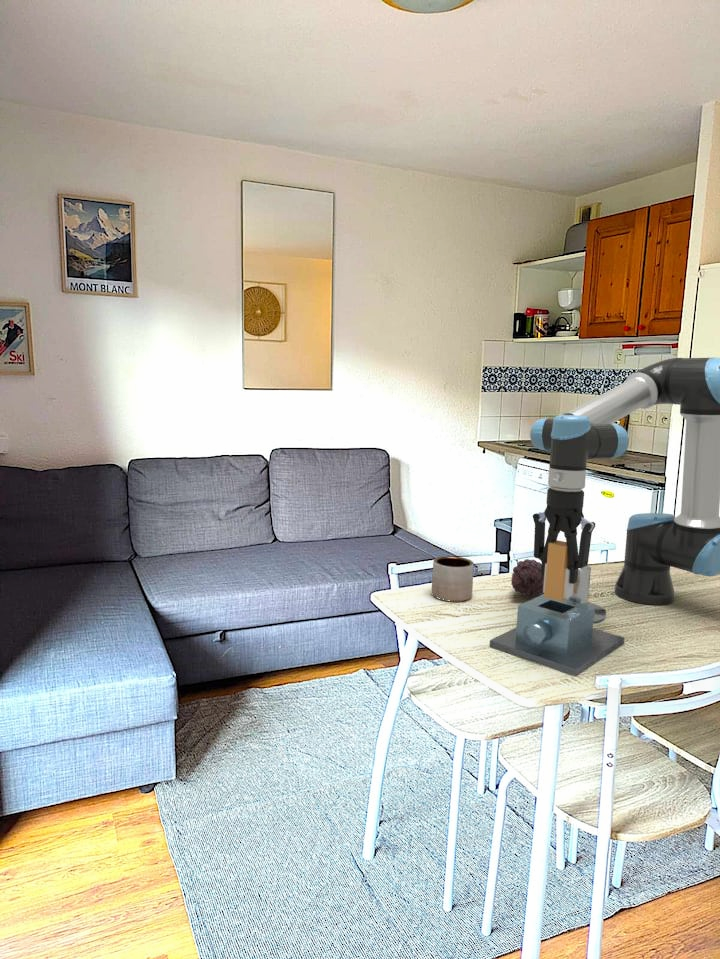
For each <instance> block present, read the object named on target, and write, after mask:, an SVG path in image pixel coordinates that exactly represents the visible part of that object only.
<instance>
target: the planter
mask: <svg viewBox="0 0 720 959" xmlns="http://www.w3.org/2000/svg"><path fill="white" fill-rule="evenodd" d="M432 561H433V563H432V578H431V595H432V594H433V595H434V596H436V597H438V598H440V599H444V600H450V601H462V602H465V601H464V600H466V601H468V600H470V599H471V598H472V597H473V584H474V566H475V565H474V564H475V563H474V561H473V560H471V559H468V558H465V557H461V556H453V555H452V556H451V555H450V556H445V555H444V556H439V557H436V558H434V559H433V560H432ZM433 595H432V596H433ZM434 596H433V597H434ZM436 597H435V598H436ZM438 598H437V599H438ZM440 599H439V600H440Z"/></svg>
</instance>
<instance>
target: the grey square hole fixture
mask: <svg viewBox="0 0 720 959" xmlns="http://www.w3.org/2000/svg"><path fill="white" fill-rule="evenodd" d="M591 570H592V567H591V566H588V565H587V566H585V567H583V568H579V569H578V578H577V582H576V583H574V584H573V591H572V596H571V597H570V598H568V599H565V600H563V601H558V600H554V599H551V598H547V597H544V594H545V593H544V594H540V595H538V596H537V597H534V598H532V599H530V600H528V601H526V602H523V603H521V604H519V605H517V617H516V627H514V628H512V629H510V630H508V631H506V632H504V633H502V634H500V635H498V636H495V637H493V638H492V639H490V640H489V647H490V648H492V649H495V650H499V651H501V652H504V653H507V654H510V655H512V656H516V657H519V658H520V659H521V658H522V659H525V660H527V661H530V662H533V663H535V662H536V663H537V665H538V664H539V665H542V666H545V667H548V668H551V669H552V670H556V671H559V672H562V673H565V674H567V675H570V676H573V677H577V676H578V675H579V674H581V673H583V671H585V670H587V669H588V668H590V667H591V666H593V665H594V664H596V663H597V662H600V660H602V659H604V658H605V657H606V656H608V655H610V654H611V653H612V652H613V651H615V650H617V649H619V648H620V647H622V646H623V645H624V644H625V637H624V636H621V635H616V634H614V633H610V632H608V631H603V630H600V629H596V628H594V624H600V623H602V622H604V621H605V620H606V619H607V611H606V609H605V608H604V607H603V606H600V605H598V604H596V603H593V602H589V595H590V583H591ZM536 663H535V664H536Z"/></svg>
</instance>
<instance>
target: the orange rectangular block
mask: <svg viewBox="0 0 720 959" xmlns="http://www.w3.org/2000/svg"><path fill="white" fill-rule="evenodd" d="M567 548H568V546H567V543H566V541H563V540H558V539H557V541H555V542H552V543H548V555H547V568H546V581H545V593H544V597H547V598H551V599H554V600H558V601H563V600H565V598H563V593H564V581H565V569H566V568H568V567H569V561H568V552H567ZM569 598H570V597H569ZM567 599H568V598H567Z"/></svg>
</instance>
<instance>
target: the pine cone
mask: <svg viewBox="0 0 720 959" xmlns="http://www.w3.org/2000/svg"><path fill="white" fill-rule="evenodd" d="M541 566H542V562H541V561H537V560H535V559H529V558H527V559H524V560H523V561H522V560H519V561H518V562H517V565H516V566H514V567H513V568H512V572H513V573H512V574H511V580H510V581H511V586H512V588H513V590H514V591H515V592H517V593H521V594H528V593H529V594H528V595H530V596H532V597H533V596H537V597H538V596H541V595H543V594H545V593H543V586H544V577H543V576H541Z"/></svg>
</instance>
